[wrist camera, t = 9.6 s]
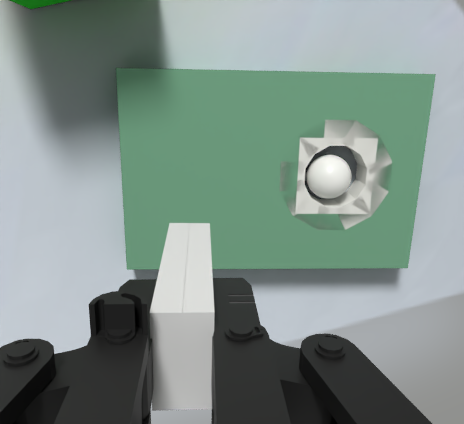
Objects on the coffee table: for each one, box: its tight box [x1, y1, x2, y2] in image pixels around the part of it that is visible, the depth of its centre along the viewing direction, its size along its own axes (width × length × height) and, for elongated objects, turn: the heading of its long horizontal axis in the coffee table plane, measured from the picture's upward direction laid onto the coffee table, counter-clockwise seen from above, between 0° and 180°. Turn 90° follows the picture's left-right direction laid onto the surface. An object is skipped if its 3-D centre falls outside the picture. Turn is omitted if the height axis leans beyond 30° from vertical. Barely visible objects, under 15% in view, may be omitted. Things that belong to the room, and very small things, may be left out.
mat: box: [116, 68, 436, 269], centre depth 36 cm, size 24×16×2 cm, turn 89°
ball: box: [306, 155, 351, 199], centre depth 36 cm, size 4×4×4 cm
